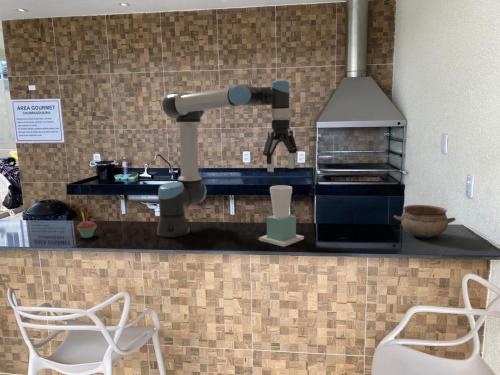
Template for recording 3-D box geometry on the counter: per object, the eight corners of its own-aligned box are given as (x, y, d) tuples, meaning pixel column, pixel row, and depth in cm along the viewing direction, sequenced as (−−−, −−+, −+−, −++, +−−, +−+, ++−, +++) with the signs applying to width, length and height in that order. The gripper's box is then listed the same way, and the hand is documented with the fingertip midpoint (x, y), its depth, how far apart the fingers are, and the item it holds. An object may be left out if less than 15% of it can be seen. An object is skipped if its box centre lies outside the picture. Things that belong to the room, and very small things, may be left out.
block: (266, 237, 176) (266, 217, 175) (279, 232, 183) (279, 213, 181) (283, 241, 170) (282, 220, 169) (295, 236, 177) (295, 216, 175)
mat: (258, 240, 177) (258, 237, 176) (279, 233, 187) (279, 230, 186) (284, 246, 167) (284, 243, 167) (303, 238, 177) (303, 236, 177)
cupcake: (73, 238, 186) (71, 212, 183) (86, 233, 193) (83, 208, 191) (89, 239, 183) (86, 213, 181) (101, 234, 191) (99, 209, 189)
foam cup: (266, 216, 176) (265, 187, 173) (281, 213, 182) (281, 184, 179) (281, 220, 168) (281, 190, 166) (296, 216, 174) (296, 187, 172)
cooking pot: (394, 241, 171) (396, 213, 169) (391, 229, 189) (392, 203, 187) (459, 244, 165) (461, 215, 163) (449, 231, 183) (451, 205, 181)
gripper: (291, 118, 179) (291, 166, 183) (253, 119, 161) (254, 172, 165) (305, 118, 174) (305, 167, 178) (267, 119, 156) (268, 174, 160)
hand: (280, 170), depth 171 cm, fingers open, 13 cm apart
